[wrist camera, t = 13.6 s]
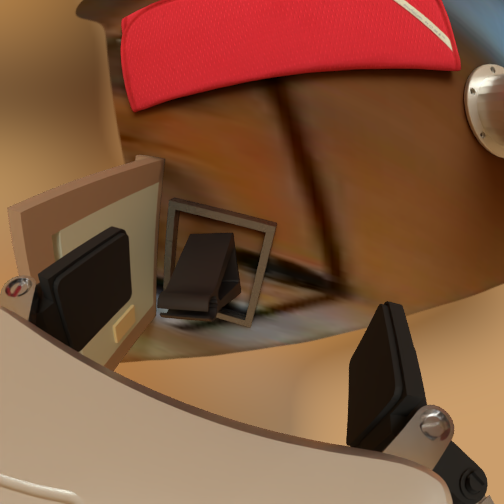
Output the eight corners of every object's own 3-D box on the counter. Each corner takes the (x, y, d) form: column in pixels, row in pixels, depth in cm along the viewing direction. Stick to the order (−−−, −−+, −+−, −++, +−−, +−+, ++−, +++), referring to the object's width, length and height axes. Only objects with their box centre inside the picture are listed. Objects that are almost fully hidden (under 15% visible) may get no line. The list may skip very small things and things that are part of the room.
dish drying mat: (127, 19, 28) (112, 13, 25) (422, -26, 18) (430, -36, 15) (139, 113, 34) (123, 113, 31) (452, 76, 24) (465, 73, 21)
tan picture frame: (167, 159, 36) (23, 213, 15) (158, 315, 47) (83, 417, 27) (139, 154, 36) (-4, 203, 16) (136, 307, 48) (57, 401, 27)
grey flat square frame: (277, 223, 36) (275, 227, 35) (252, 321, 43) (250, 327, 42) (174, 197, 38) (169, 200, 36) (167, 295, 45) (163, 300, 43)
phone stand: (191, 233, 39) (147, 274, 29) (233, 232, 38) (201, 276, 27) (202, 290, 43) (168, 342, 32) (241, 291, 42) (216, 348, 31)
